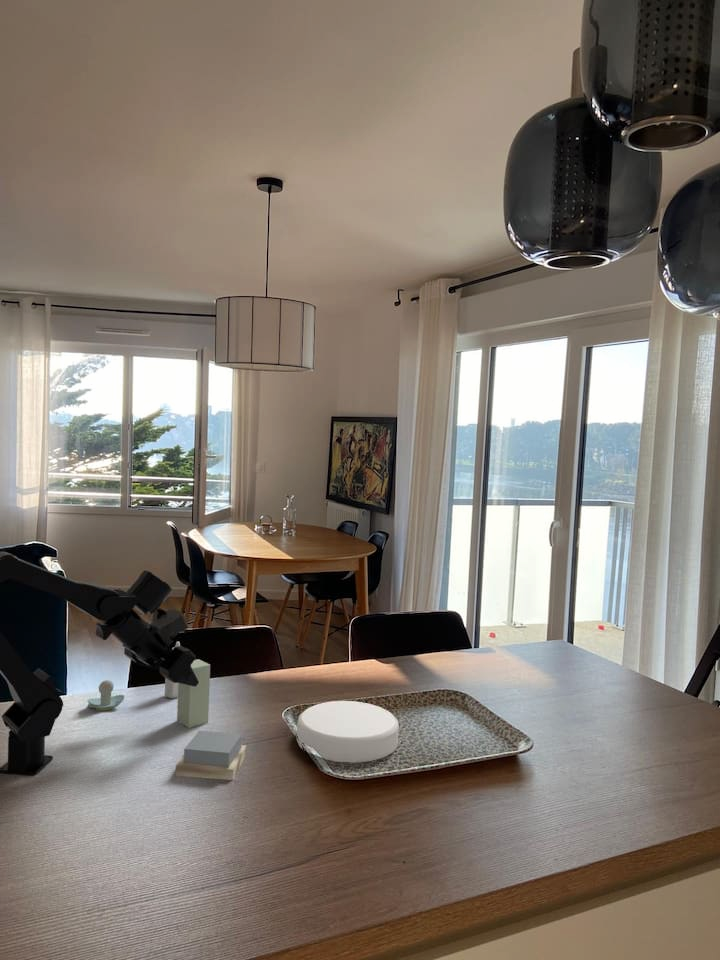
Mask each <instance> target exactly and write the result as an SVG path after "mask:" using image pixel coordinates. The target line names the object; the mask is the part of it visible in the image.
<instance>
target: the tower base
mask: <svg viewBox="0 0 720 960" xmlns="http://www.w3.org/2000/svg"><path fill="white" fill-rule="evenodd" d="M246 755H247V745H245V744H242V746H241V749H240V751H239V752H238V754H237V755H236V757H235V758H234V760H233V761H232V763H231V764H230V766H229V767H222V766H211V765H200V764H189V763H184V754H183V755H182V756H181V757H180V759H179V761H178V762H177V763H176V765H175V777H191V778H200V777H201V779H202V778H204V779H213V778H214V779H215V780H229V781H234V779H235V777H236V775H237V773H238V771H239V769H240V767H241V765H242V763H243V762H244V759H245V758H246ZM177 775H178V776H177Z"/></svg>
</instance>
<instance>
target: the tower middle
mask: <svg viewBox="0 0 720 960" xmlns="http://www.w3.org/2000/svg"><path fill="white" fill-rule="evenodd" d="M242 738H243V734H241V733H233V732H231V733H230V732H219V731H207V730H198V732H197V733H196V734H195V735H194V736H193V738H192V739H191V740H190V741H189V742H188V743H187V745H186V746H185V747H184V749H183V755H184V763H189V764H200V765H211V766H222V767H229V766H230V764H231V763H232V761H233V760H234V758H235V757H236V755H237V754H238V752H239V751H240V749H241V746H242V745H243V744H242V743H243V741H242V740H243V739H242Z"/></svg>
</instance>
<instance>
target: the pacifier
mask: <svg viewBox="0 0 720 960" xmlns="http://www.w3.org/2000/svg"><path fill="white" fill-rule="evenodd" d="M113 690H114V683H113V681H112V680H110V679H109V680H107V679H106V680H103V681H102V682H101V683H100V684H99V686H98V692H99V693H100V698H88V699H87V703H88V704H87V707H89V708H91V709H96V710H97V711H107V710H108V711H109V710H111V709H114V708H115V707H116V706H118V705H120V704H121V703H123V702H124V700H125V695H123V694H118V695H112V692H113Z"/></svg>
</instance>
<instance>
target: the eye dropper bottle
mask: <svg viewBox="0 0 720 960" xmlns="http://www.w3.org/2000/svg"><path fill="white" fill-rule="evenodd" d="M178 646H181V643H180V641H176V643H175V646H174V647H172V648H171V650H173V649H174V648H175V647H178ZM164 679H165V680H164V682H165V683H164V697H165V698H168V699H178V683H174V682H172V681H170V680H168V679H167V678H165V677H164Z"/></svg>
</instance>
